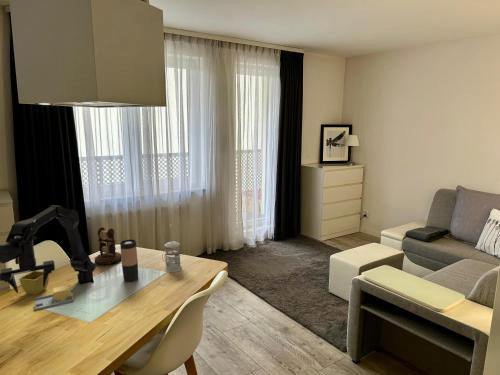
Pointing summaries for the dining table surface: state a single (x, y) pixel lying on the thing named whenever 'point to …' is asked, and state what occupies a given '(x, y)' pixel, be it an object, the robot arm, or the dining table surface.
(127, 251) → the travel mug
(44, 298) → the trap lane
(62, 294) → the ochre block
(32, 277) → the flower pot
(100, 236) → the brown sculpture
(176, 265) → the french press
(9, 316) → the dining table surface
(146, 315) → the dining table surface
